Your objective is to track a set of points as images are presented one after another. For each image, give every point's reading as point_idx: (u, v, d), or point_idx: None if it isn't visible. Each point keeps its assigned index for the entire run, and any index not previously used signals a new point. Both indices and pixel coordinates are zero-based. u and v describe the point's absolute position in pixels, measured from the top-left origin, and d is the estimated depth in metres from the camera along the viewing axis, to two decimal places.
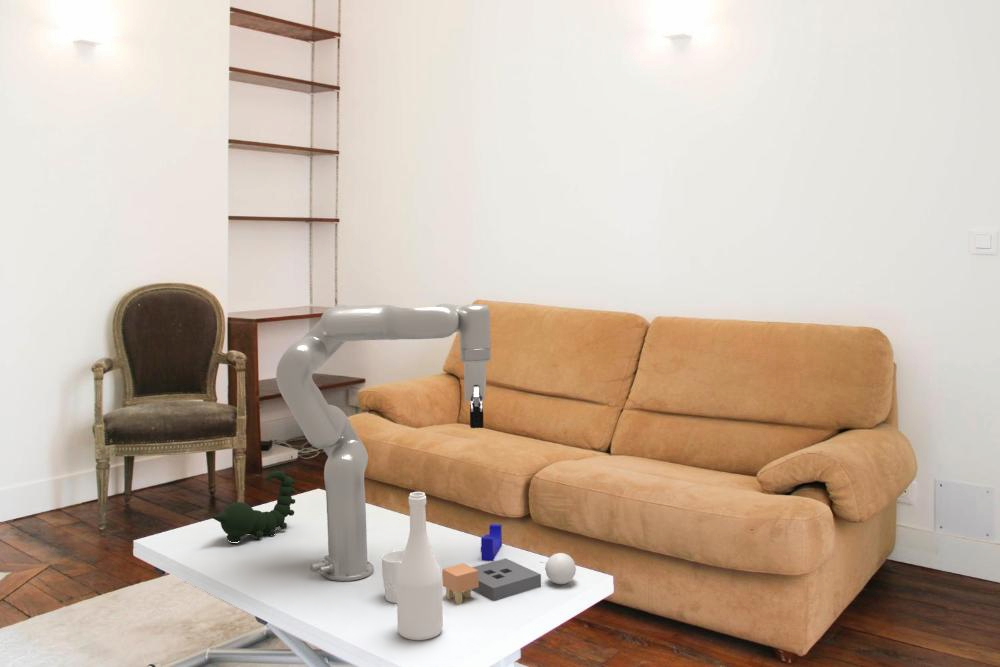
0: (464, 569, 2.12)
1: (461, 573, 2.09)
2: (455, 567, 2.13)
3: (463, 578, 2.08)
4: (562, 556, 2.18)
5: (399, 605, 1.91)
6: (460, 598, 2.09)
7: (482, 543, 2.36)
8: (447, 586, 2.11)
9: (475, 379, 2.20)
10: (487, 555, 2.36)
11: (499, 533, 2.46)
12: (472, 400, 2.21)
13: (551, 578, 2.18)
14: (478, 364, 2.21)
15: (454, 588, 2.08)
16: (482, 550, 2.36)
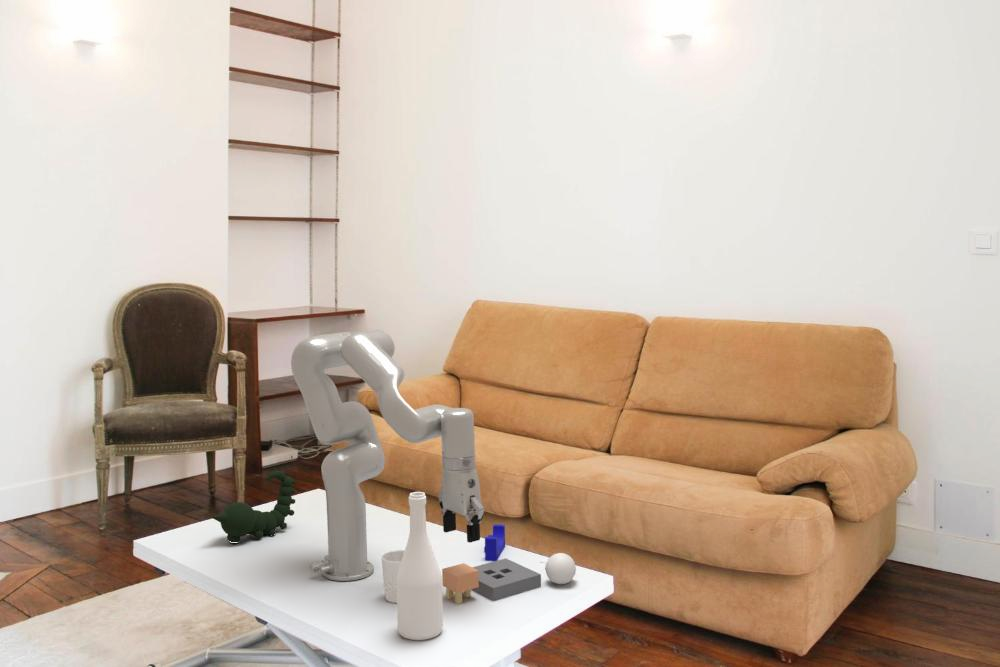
0: (464, 569, 2.12)
1: (461, 573, 2.09)
2: (455, 567, 2.13)
3: (463, 578, 2.08)
4: (562, 556, 2.18)
5: (399, 605, 1.91)
6: (460, 598, 2.09)
7: (486, 543, 2.36)
8: (447, 586, 2.11)
9: None
10: (491, 556, 2.36)
11: (502, 533, 2.46)
12: None
13: (551, 578, 2.18)
14: None
15: (454, 588, 2.08)
16: (486, 550, 2.36)
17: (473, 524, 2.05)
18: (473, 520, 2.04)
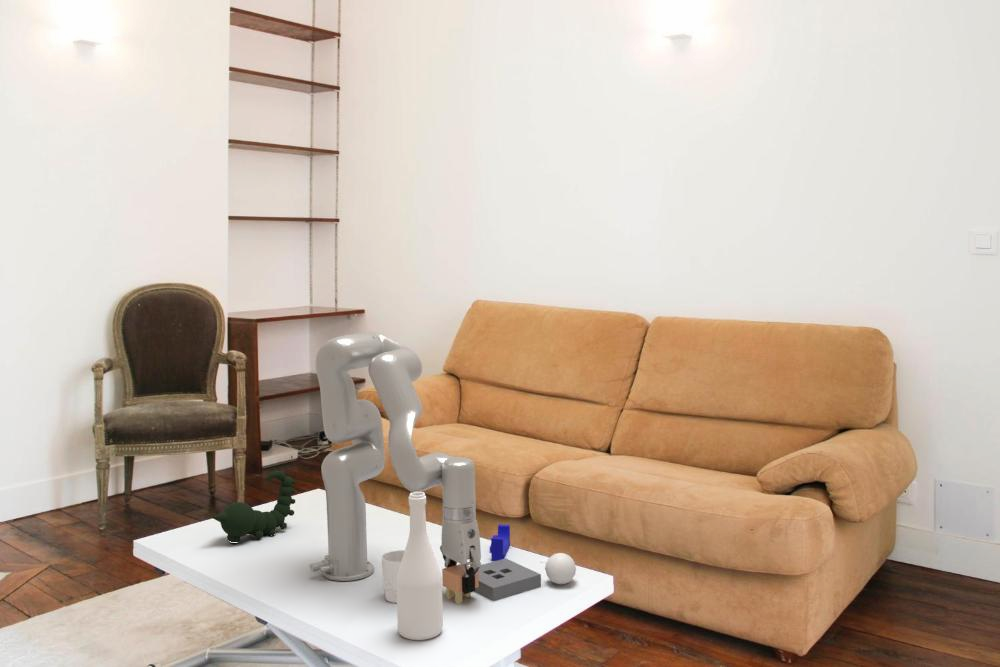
0: None
1: (461, 573, 2.09)
2: (455, 567, 2.13)
3: None
4: (562, 556, 2.18)
5: (399, 605, 1.91)
6: (460, 598, 2.09)
7: (492, 543, 2.36)
8: (448, 586, 2.11)
9: None
10: (497, 556, 2.36)
11: (508, 533, 2.45)
12: None
13: (551, 578, 2.18)
14: None
15: (454, 588, 2.08)
16: (492, 550, 2.36)
17: (469, 576, 2.07)
18: (469, 572, 2.07)
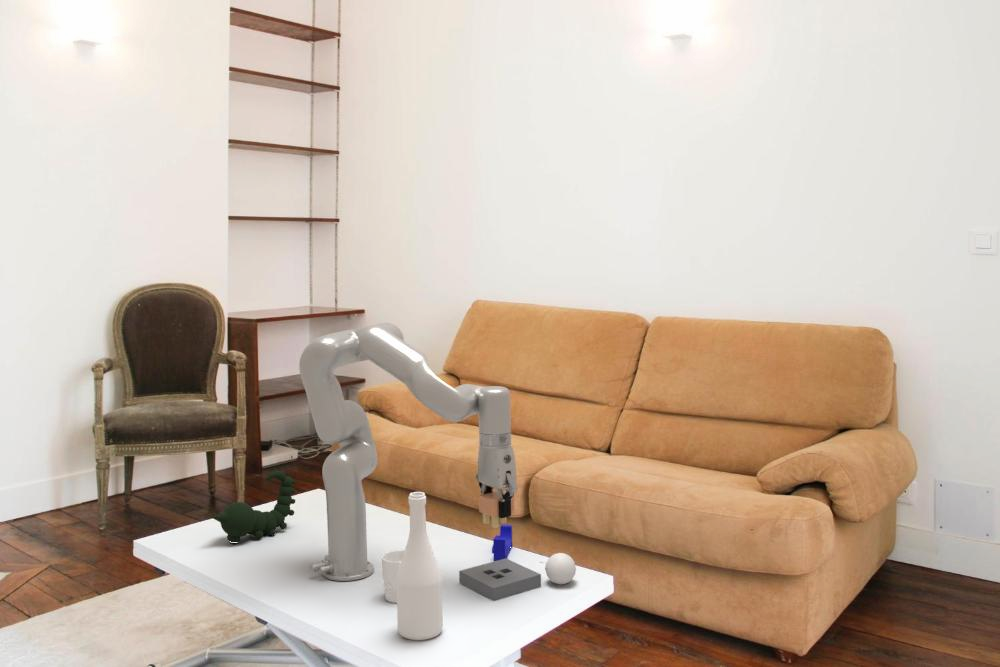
0: None
1: (497, 498, 2.15)
2: (491, 494, 2.18)
3: None
4: (562, 556, 2.18)
5: (399, 605, 1.91)
6: (496, 523, 2.15)
7: (494, 544, 2.36)
8: (484, 512, 2.16)
9: None
10: (500, 556, 2.36)
11: (510, 534, 2.45)
12: None
13: (551, 578, 2.18)
14: None
15: (491, 513, 2.14)
16: (494, 551, 2.36)
17: (505, 501, 2.13)
18: (505, 497, 2.13)
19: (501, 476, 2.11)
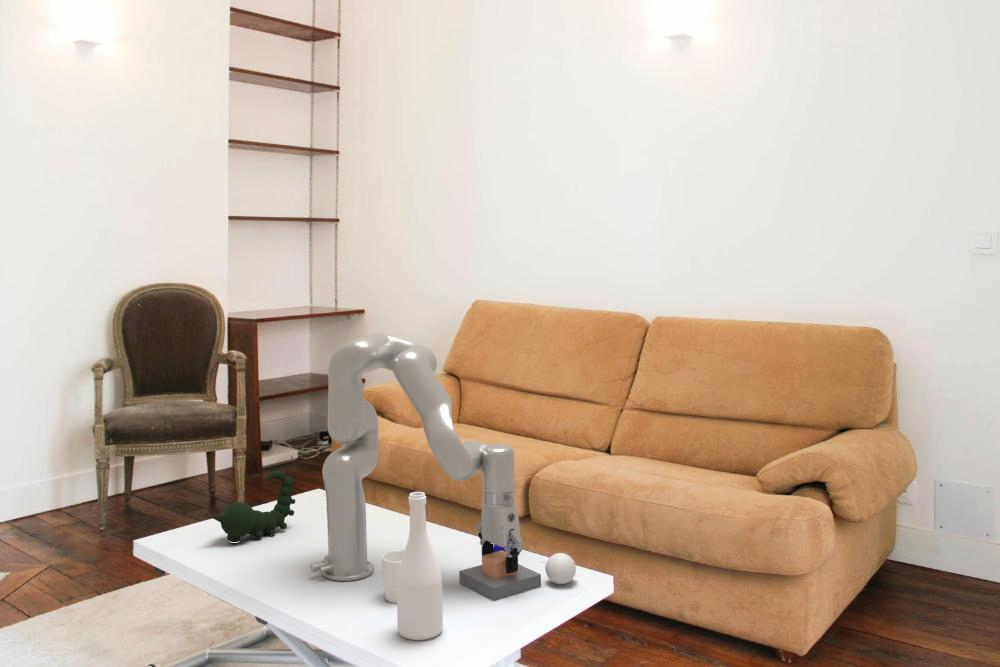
0: (503, 555, 2.20)
1: (500, 559, 2.17)
2: (494, 554, 2.20)
3: (503, 565, 2.16)
4: (562, 556, 2.18)
5: (399, 605, 1.91)
6: None
7: None
8: (487, 572, 2.18)
9: None
10: None
11: None
12: None
13: (551, 578, 2.18)
14: None
15: (494, 574, 2.16)
16: (495, 551, 2.35)
17: (512, 556, 2.14)
18: (512, 553, 2.13)
19: (505, 534, 2.14)
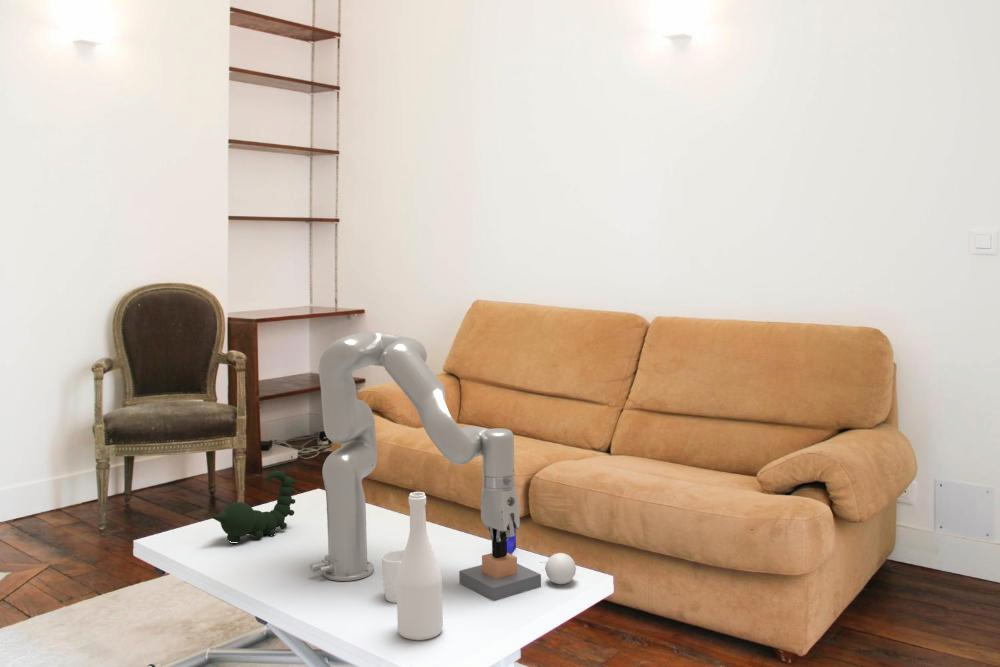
0: None
1: (500, 559, 2.17)
2: None
3: (503, 565, 2.16)
4: (562, 556, 2.18)
5: (399, 605, 1.91)
6: None
7: None
8: (487, 572, 2.18)
9: None
10: None
11: None
12: None
13: (551, 578, 2.18)
14: None
15: (494, 574, 2.16)
16: None
17: (501, 541, 2.17)
18: (501, 537, 2.17)
19: (505, 518, 2.13)
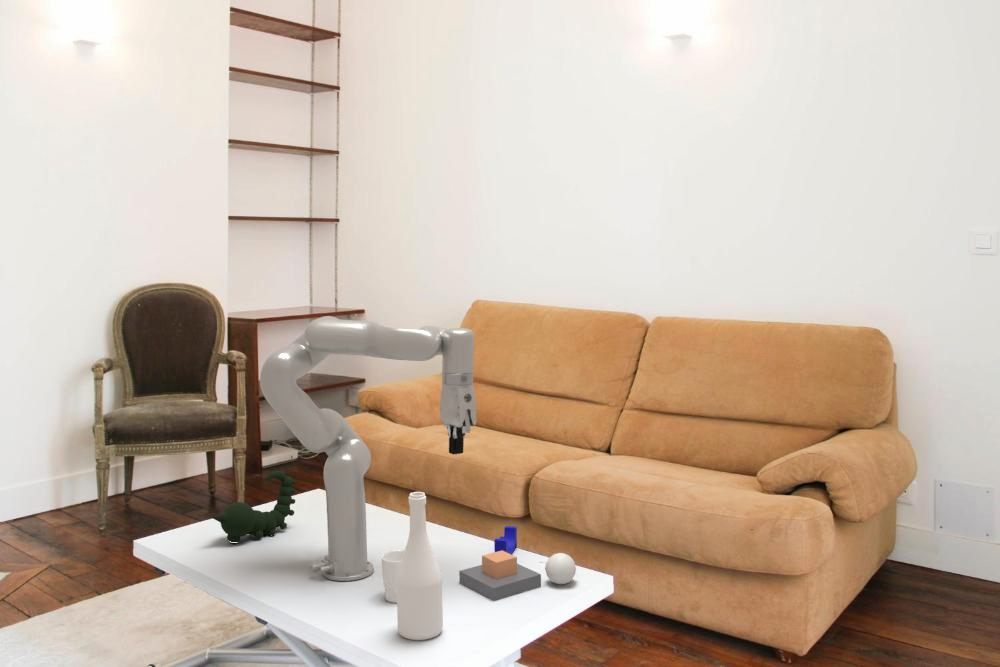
0: (503, 555, 2.20)
1: (500, 559, 2.17)
2: (494, 554, 2.20)
3: (503, 565, 2.16)
4: (562, 556, 2.18)
5: (399, 605, 1.91)
6: None
7: (495, 545, 2.35)
8: (487, 572, 2.18)
9: None
10: None
11: (514, 535, 2.44)
12: None
13: (551, 578, 2.18)
14: None
15: (494, 574, 2.16)
16: None
17: (457, 437, 2.22)
18: (457, 434, 2.22)
19: (461, 414, 2.18)
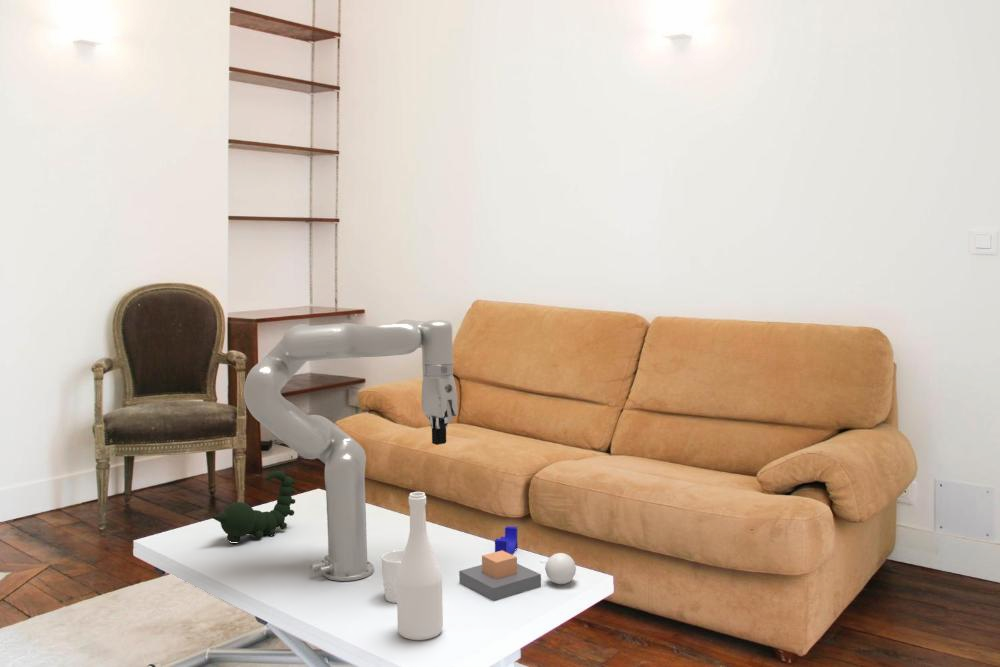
0: (503, 555, 2.20)
1: (500, 559, 2.17)
2: (494, 554, 2.20)
3: (503, 565, 2.16)
4: (562, 556, 2.18)
5: (399, 605, 1.91)
6: None
7: (496, 545, 2.35)
8: (487, 572, 2.18)
9: None
10: None
11: (514, 535, 2.44)
12: None
13: (551, 578, 2.18)
14: None
15: (494, 574, 2.16)
16: None
17: (440, 428, 2.26)
18: (440, 424, 2.26)
19: (442, 404, 2.22)
